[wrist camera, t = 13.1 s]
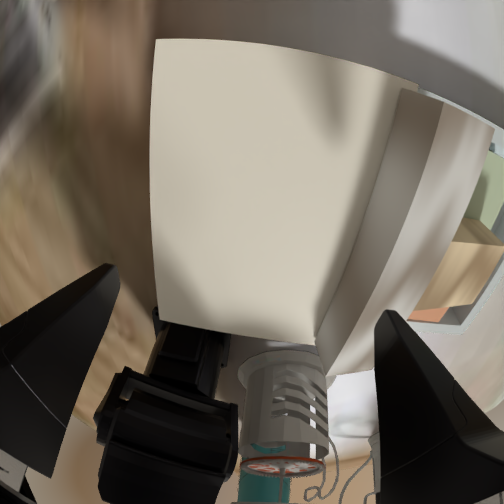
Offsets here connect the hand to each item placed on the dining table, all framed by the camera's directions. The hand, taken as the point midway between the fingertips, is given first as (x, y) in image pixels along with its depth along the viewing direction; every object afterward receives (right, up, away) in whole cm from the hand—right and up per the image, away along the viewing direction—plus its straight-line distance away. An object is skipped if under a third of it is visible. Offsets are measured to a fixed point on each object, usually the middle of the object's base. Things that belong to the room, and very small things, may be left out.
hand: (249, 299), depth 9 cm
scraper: (+5, +1, +2) cm, 5 cm away
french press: (+4, -11, +19) cm, 22 cm away
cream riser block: (+1, +5, +7) cm, 9 cm away
